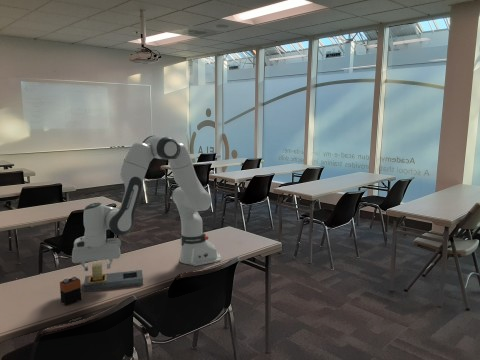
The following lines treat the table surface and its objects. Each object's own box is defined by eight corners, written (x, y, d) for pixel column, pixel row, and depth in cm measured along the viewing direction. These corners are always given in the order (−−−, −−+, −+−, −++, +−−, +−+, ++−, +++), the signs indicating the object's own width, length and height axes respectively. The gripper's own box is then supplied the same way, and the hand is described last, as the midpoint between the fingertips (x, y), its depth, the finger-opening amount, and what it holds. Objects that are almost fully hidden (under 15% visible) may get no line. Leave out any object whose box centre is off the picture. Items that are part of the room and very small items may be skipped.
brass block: (103, 281, 170) (102, 262, 169) (102, 285, 167) (101, 266, 165) (93, 282, 169) (92, 263, 168) (93, 286, 165) (92, 267, 164)
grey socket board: (142, 275, 178) (141, 269, 178) (143, 284, 169) (142, 277, 169) (85, 282, 171) (85, 275, 170) (83, 291, 162) (83, 284, 161)
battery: (60, 302, 152) (59, 279, 150) (76, 296, 157) (75, 274, 155) (65, 306, 149) (64, 282, 147) (82, 300, 154) (80, 277, 153)
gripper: (120, 235, 171) (122, 264, 173) (71, 239, 165) (74, 269, 167) (120, 239, 165) (122, 269, 167) (70, 244, 159) (72, 274, 161)
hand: (97, 269), depth 167 cm, fingers open, 8 cm apart
